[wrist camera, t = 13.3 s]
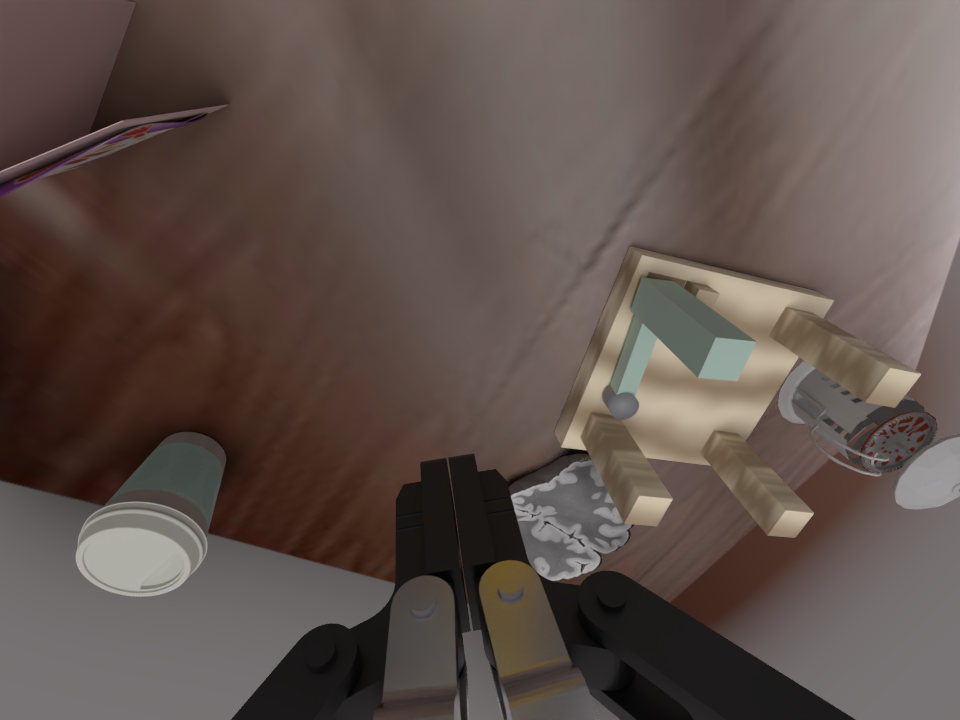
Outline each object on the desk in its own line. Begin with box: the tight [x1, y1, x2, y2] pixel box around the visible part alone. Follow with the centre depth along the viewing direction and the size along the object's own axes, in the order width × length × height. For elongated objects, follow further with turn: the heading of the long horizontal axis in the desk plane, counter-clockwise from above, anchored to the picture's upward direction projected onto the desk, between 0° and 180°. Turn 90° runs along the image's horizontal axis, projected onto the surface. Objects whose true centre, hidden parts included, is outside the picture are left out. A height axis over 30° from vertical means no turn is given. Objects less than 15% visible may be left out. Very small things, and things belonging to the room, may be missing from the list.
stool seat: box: [554, 246, 921, 538], centre depth 43 cm, size 20×20×14 cm
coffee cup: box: [76, 432, 226, 597], centre depth 41 cm, size 8×8×12 cm
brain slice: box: [509, 453, 634, 581], centre depth 56 cm, size 20×17×3 cm
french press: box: [778, 361, 960, 509], centre depth 43 cm, size 10×12×25 cm
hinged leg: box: [603, 277, 756, 420], centre depth 39 cm, size 13×3×11 cm, turn 170°
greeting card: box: [0, 0, 230, 197], centre depth 26 cm, size 11×7×15 cm, turn 109°
